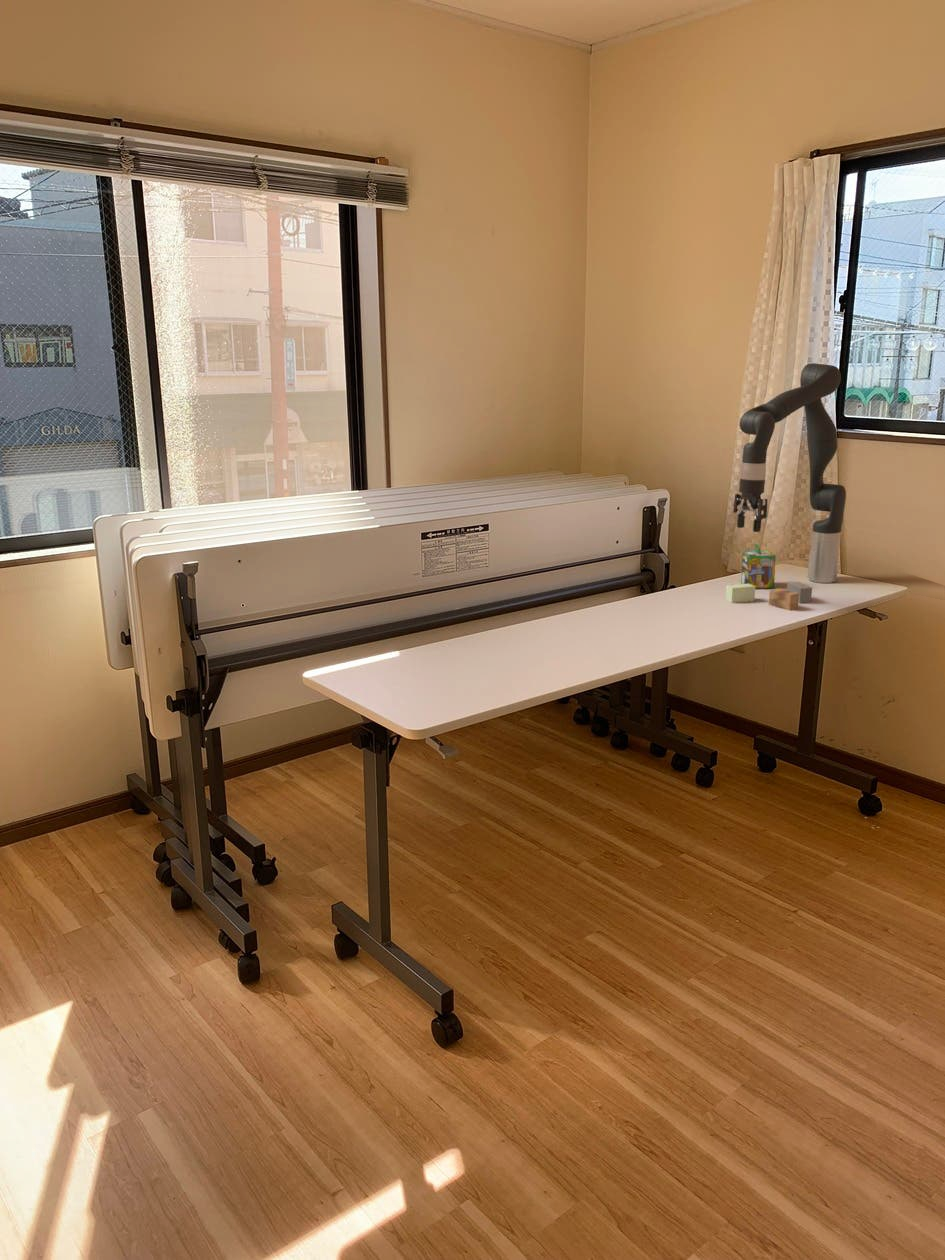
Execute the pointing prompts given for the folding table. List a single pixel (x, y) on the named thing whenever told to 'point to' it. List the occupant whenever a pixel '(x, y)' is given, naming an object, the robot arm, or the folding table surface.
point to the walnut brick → (783, 599)
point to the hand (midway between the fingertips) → (748, 529)
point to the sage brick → (740, 593)
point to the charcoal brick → (801, 591)
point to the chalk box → (758, 568)
